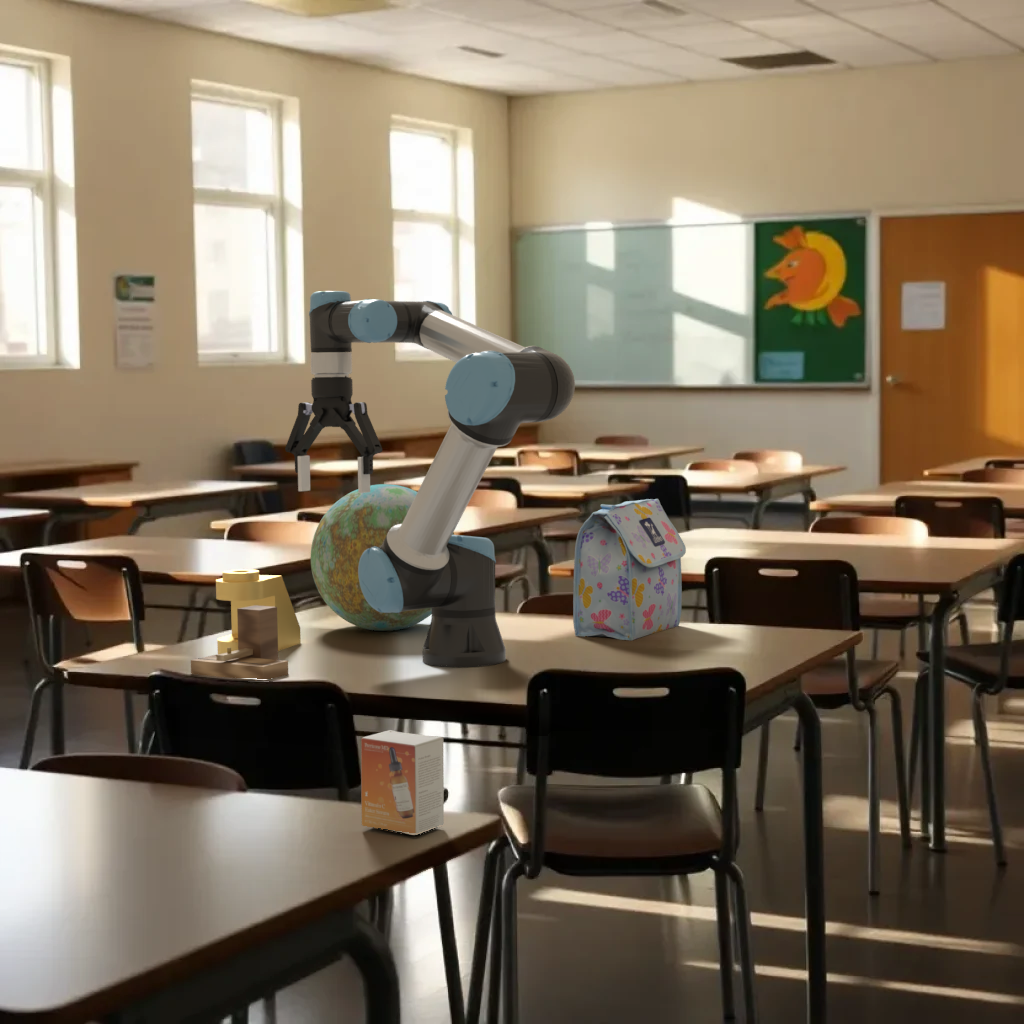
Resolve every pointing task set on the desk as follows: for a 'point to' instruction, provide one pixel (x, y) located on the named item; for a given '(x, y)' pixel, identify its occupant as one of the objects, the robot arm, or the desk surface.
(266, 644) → the taupe upright block
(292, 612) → the clamp
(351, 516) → the decorative globe
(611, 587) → the lunch bag
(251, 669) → the board
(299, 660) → the desk surface
